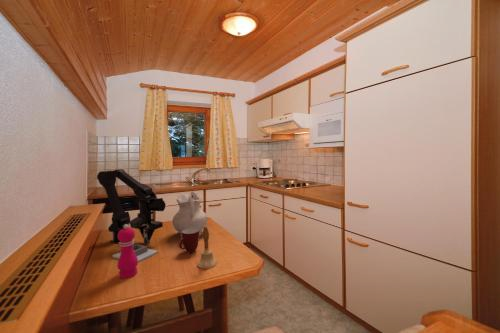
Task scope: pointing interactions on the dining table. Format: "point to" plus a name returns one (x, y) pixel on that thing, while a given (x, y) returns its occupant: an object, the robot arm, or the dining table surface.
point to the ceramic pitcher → (189, 213)
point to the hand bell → (206, 253)
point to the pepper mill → (127, 253)
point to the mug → (189, 239)
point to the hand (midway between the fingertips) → (146, 239)
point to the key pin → (145, 236)
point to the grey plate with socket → (139, 252)
